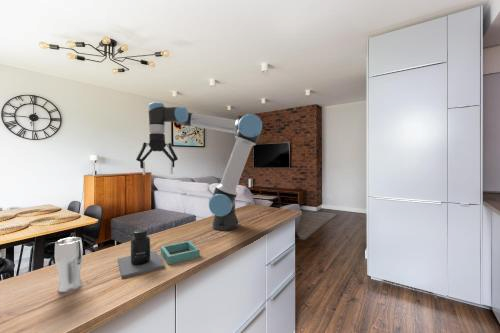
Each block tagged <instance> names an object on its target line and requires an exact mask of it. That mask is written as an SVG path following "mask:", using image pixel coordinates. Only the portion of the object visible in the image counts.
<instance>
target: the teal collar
mask: <svg viewBox="0 0 500 333" xmlns="http://www.w3.org/2000/svg"><path fill="white" fill-rule="evenodd" d="M183 250H187V251H183ZM179 251H183V252H179ZM174 252H178V253H174ZM200 252H201V251H200V249H199V248H198V247H197V246H196V245H195V244H194V243H193V242H192V241H191V240H186V241H180V242H177V243H171V244H165V245H162V246H160V254H161V256H162V257H163V260H165V262H166V263H167V265H168V266H169V265H173V264H176V263H180V262H185V261H189V260H192V259H197V258H200V256H201V255H200V254H201V253H200ZM170 253H174V254H170Z"/></svg>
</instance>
